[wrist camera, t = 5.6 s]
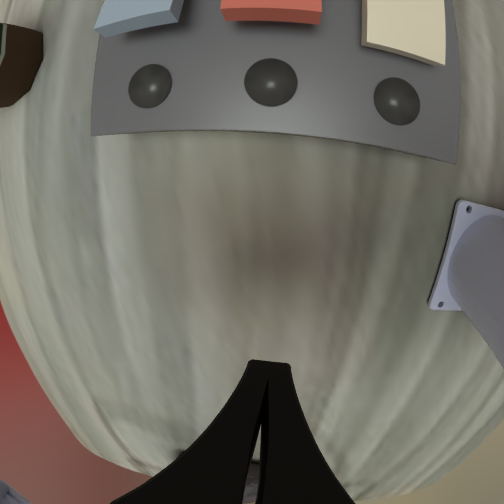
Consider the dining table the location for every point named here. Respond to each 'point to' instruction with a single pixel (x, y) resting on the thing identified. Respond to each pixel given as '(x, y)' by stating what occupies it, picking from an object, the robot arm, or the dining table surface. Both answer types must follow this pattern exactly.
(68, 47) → the dining table surface
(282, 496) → the robot arm
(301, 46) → the rocker switch panel
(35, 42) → the beer bottle
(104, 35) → the slate rocker
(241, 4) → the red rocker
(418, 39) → the block
